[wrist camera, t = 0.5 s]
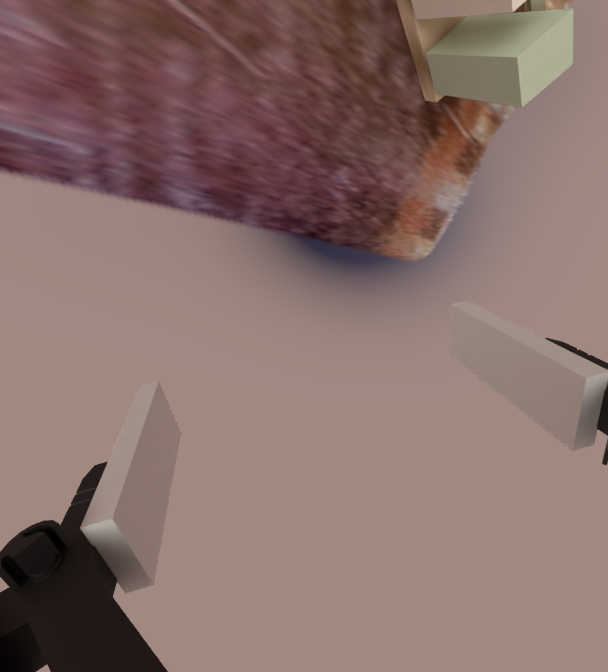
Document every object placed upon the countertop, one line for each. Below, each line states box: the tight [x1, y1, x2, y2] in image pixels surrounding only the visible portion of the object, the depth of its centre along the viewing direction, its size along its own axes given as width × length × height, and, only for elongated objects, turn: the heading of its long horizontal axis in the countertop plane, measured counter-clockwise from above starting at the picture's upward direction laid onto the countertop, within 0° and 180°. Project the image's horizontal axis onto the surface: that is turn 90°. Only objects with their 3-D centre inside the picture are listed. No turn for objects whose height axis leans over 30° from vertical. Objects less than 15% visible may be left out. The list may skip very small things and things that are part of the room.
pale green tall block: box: [426, 8, 573, 107], centre depth 32 cm, size 4×5×11 cm
